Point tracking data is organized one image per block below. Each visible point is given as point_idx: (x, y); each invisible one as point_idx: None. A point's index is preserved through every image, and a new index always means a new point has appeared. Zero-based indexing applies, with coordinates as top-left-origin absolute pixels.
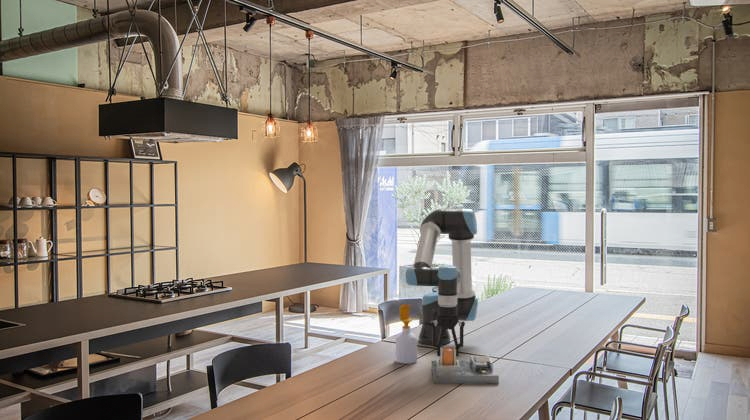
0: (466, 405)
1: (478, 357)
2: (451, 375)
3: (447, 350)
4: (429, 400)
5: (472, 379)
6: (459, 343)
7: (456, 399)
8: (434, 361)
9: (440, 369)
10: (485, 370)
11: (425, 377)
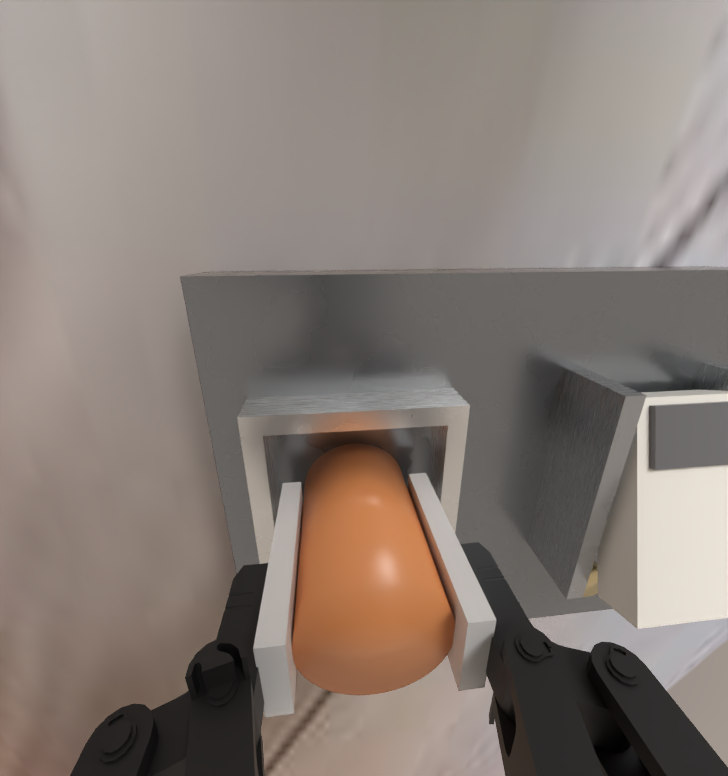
0: (394, 769)
1: (648, 618)
2: None
3: (366, 665)
4: None
5: None
6: (596, 710)
7: (363, 737)
8: (220, 307)
9: None
10: None
11: (188, 509)
